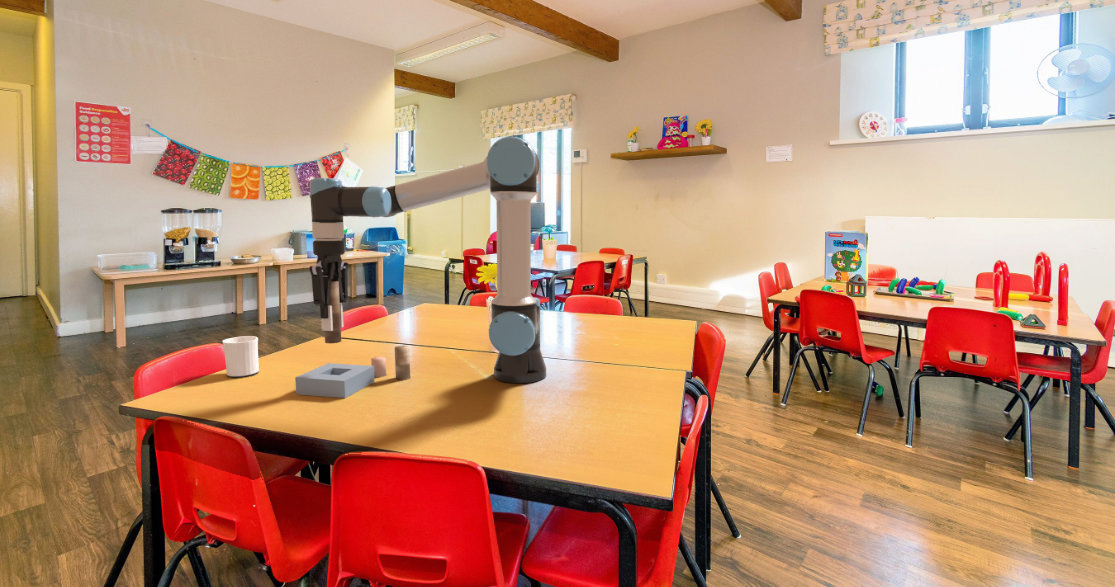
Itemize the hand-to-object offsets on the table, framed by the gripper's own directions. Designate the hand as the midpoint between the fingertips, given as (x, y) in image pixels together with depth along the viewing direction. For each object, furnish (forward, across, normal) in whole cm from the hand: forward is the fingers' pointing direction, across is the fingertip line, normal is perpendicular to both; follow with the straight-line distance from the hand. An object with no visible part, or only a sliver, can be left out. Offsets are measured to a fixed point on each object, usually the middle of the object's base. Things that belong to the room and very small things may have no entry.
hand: (332, 328), depth 143 cm
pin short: (+16, -13, +5) cm, 22 cm away
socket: (+16, 0, 0) cm, 16 cm away
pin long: (+4, 0, 0) cm, 4 cm away
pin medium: (+16, -12, +13) cm, 24 cm away
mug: (+17, -6, -35) cm, 39 cm away
